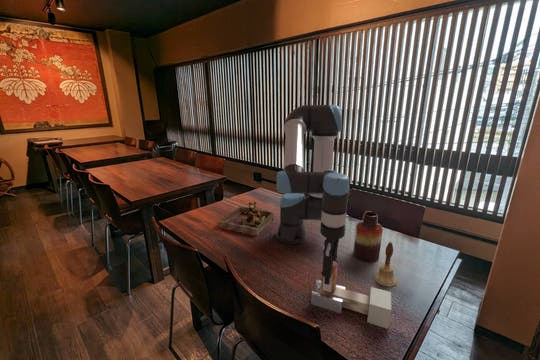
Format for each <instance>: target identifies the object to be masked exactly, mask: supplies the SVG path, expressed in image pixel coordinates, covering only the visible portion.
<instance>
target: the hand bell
mask: <svg viewBox="0 0 540 360" xmlns="http://www.w3.org/2000/svg"><path fill="white" fill-rule="evenodd" d="M393 253H394V245H393V242H391V241H389V242H388V244H387V245H386V247H385V261H384V264H383V263H382V264H381V265H380V267H379V270H378V271H377V272H375V273H374V275H373V279H374V281H375V282H376V283H377V284H379V285H381V286H383V287H390V288H391V287H395V286H396V285H397V284H398V280H397V278H396V277H395V275H394V268H393V267H392V266H391V258H392V256H393Z"/></svg>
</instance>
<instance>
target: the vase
mask: <svg viewBox="0 0 540 360" xmlns="http://www.w3.org/2000/svg"><path fill="white" fill-rule="evenodd" d="M378 216H379V215H378V213H376V212H373V211H365V212H364V213H363V217H362V220H360V221H358V222H357V223H356V225H355V234H354V243H353V255H354V256H353V257H355V258H356V259H357V260H359V261H361V262H364V263H376V262H378V261H379V259H380V253H381V246H382V240H383V232H384V231H383V230H384V228H383V226H382V225H381V224H380V223H378V221H379V220H378V219H379V217H378Z"/></svg>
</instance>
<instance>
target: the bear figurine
mask: <svg viewBox="0 0 540 360" xmlns="http://www.w3.org/2000/svg"><path fill="white" fill-rule="evenodd" d="M256 204H257V202H256V201H254V202H251V201H249V202H248V208H249V209H250V210H249V211H248V214H247V216H245V218H243V219H242V221H243V222H242V225H243V226H247V227H254V228H257V227H258V226H259V225H260V224H261V223H262V222H263V221H264V220H265V219H266V217H264V216H263V217H261V214H260V212H259V210H258V209H259V208H257V207H256Z"/></svg>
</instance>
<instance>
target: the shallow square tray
mask: <svg viewBox="0 0 540 360" xmlns="http://www.w3.org/2000/svg"><path fill="white" fill-rule="evenodd" d="M257 209H258V210H259V212H260V214H261V216H265V217H267V218H265V220H264V221H263V222H262V223H261V224H260V225H259V226H258V227H257V228H252V227H247V226H244V225H243V224H242V225H241V224H237V223H232V222H231V221H232V220H231V219H232V218H234V217H235V216H236V215H238V214H239V213H240V212H246V213H248V211H249V210H250V209H249V206H242V205H240V206H239V207H237V208H236V209H235V210H233V211H231V212H230V213H229V214H228V215H226V216H225V217H224V218H222V219H221V220H219V221H218V224H219V228H220V227H222V228H226V229H230V230H234V231H233V232H235V231H238V232H237V233H239V232H243V233H242V234H244V233H247V234H246V235H248V234H250V235H249V236H253V235H255V236H254V237H258V236H259V235H260V234H261V233H262V232H263V231H264V230H265V229H266V228H267V227H266V226H267V225H268V226H269V225H270V223H272V221H273V220H274V219H275V212H274V211H271V210H270V211H269V210H264V209H259V208H257ZM239 215H240V214H239ZM239 215H238V216H239ZM235 218H236V217H235ZM235 218H234V219H235ZM273 218H274V219H273ZM272 219H273V220H272ZM230 220H231V221H230ZM229 221H230V222H229ZM265 227H266V228H265ZM222 228H221V229H222ZM264 228H265V229H264ZM226 229H225V230H226ZM263 229H264V230H263ZM230 230H229V231H230ZM262 230H263V231H262ZM261 231H262V232H261ZM260 232H261V233H260ZM259 233H260V234H259ZM258 234H259V235H258ZM257 235H258V236H257Z"/></svg>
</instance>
